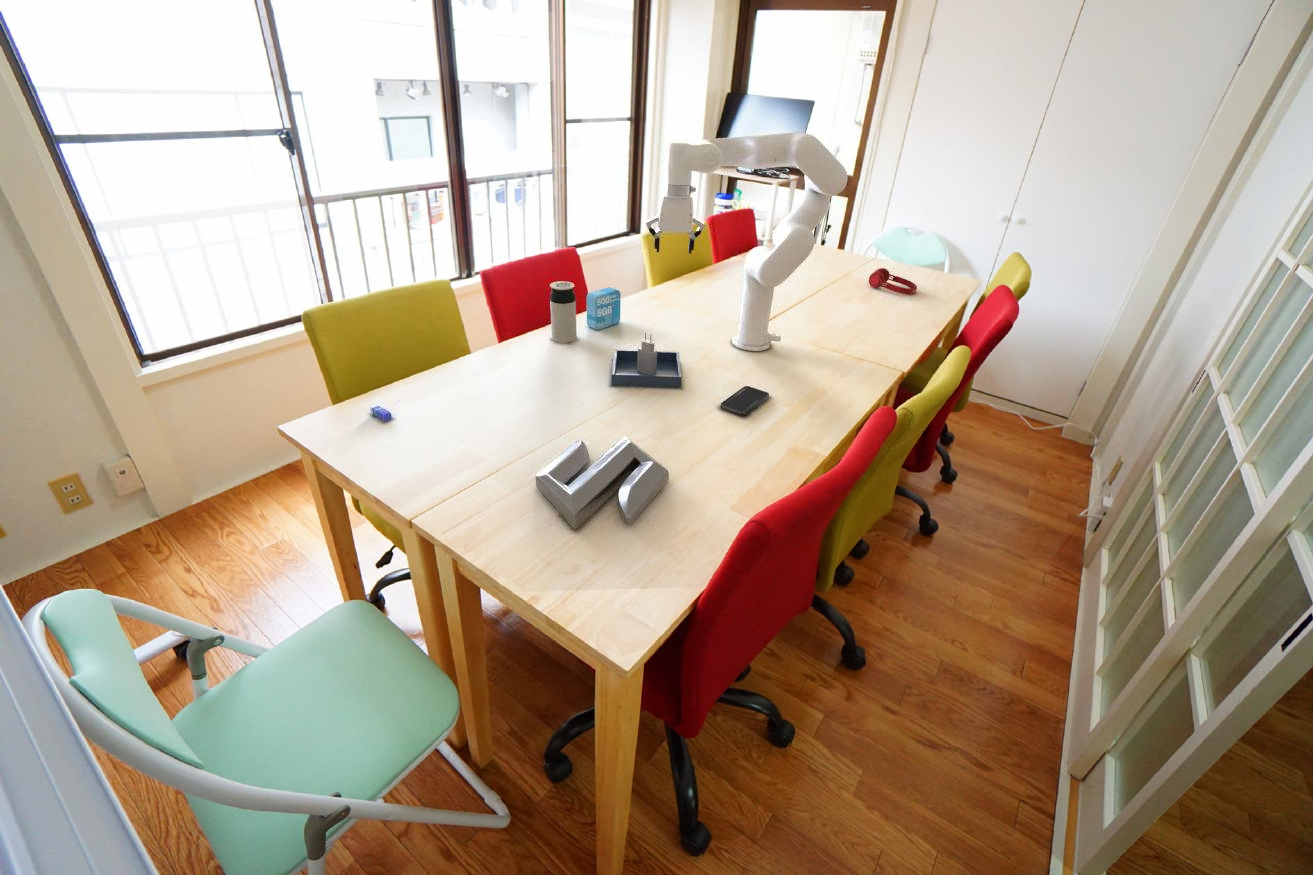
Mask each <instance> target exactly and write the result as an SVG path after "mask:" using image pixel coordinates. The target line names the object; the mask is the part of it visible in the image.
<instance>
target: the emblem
mask: <svg viewBox="0 0 1313 875" xmlns="http://www.w3.org/2000/svg"><path fill="white" fill-rule="evenodd" d="M669 479H670V473H669V470H668V469H667V468H666V467H665V466H664V465H662V463H660V462H658V460H656V458H653V457H652V456H651V455H649V454H648V453H647V452H646V451H645V450H644V449H642V448H641V447H639V446H638V445H637V444H636V443H634V442H633V441H632V440H631V439H630V438H628V437H627V436H623V437H621V439H619V441H617V442H616V443H615V444H614V445H612V446H611V447H610V448H609V449H608V450H607V451H606V452H605V453H603V454H602V455H601V456H600V457H599V458H597V460H596V461H595V462H593V463H592V464H591V465H590V453H589V449H588V447H587V445H586V444H585V442H584V441H583V440H582V439H577V440H576V441H574V442H573V443H572V444H571V445H570V446H569V447H568V448H566V450H564V451H563V452H562V453H561V454H560V455H558V456H557V457H555V459H554V460H552V461H551V462H550V463H549V464H547V465H546V466H545V467H544V468H543V469H542V470H540V471H539V472H537V474H536V475H535V485H536V488H537V489H538V490H539V491H540V492H541V494H542V495H543V496H544V497H545V498H546V499H547V500H548V502H549V503H550V504H551V505H552V506H553V507H554V508H555V510H557V512H558V513H559V514H560V515H561V517H563V518H564V520H565V521H566V522H567V523H568V524H569V525H570V527H571V528H572V529H574V530H577V529H579V528H580V526H582V525H583V524H584V523H585V522H586V521H587V520H588V519H589V518H590V517H591V516H592V515H593V514H595V513H596V512H597V511H598V510H599V509H600V507H602V506H603V504H605V503H606V502H607V501H608V500H609V499H610V498H611V497H612V496H613V495H614V494H615V493H616V492H617V491H618V492H617V508H618V511H619V514H620V516H621V519H622V520H623V522H624V523H626V524H629V525H631V524H633V523H634V521H636V519H637V518H638V516H640V515H641V513H642V512H643V511H644V510H645V508H647V507H648V505H649V504H650V503H651V502H652V501H653V499H654V498H656V496H657V495H658V493H660V491H661V490H662V489H663V488H664V487H665V486H666V484H668V482H669Z"/></svg>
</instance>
